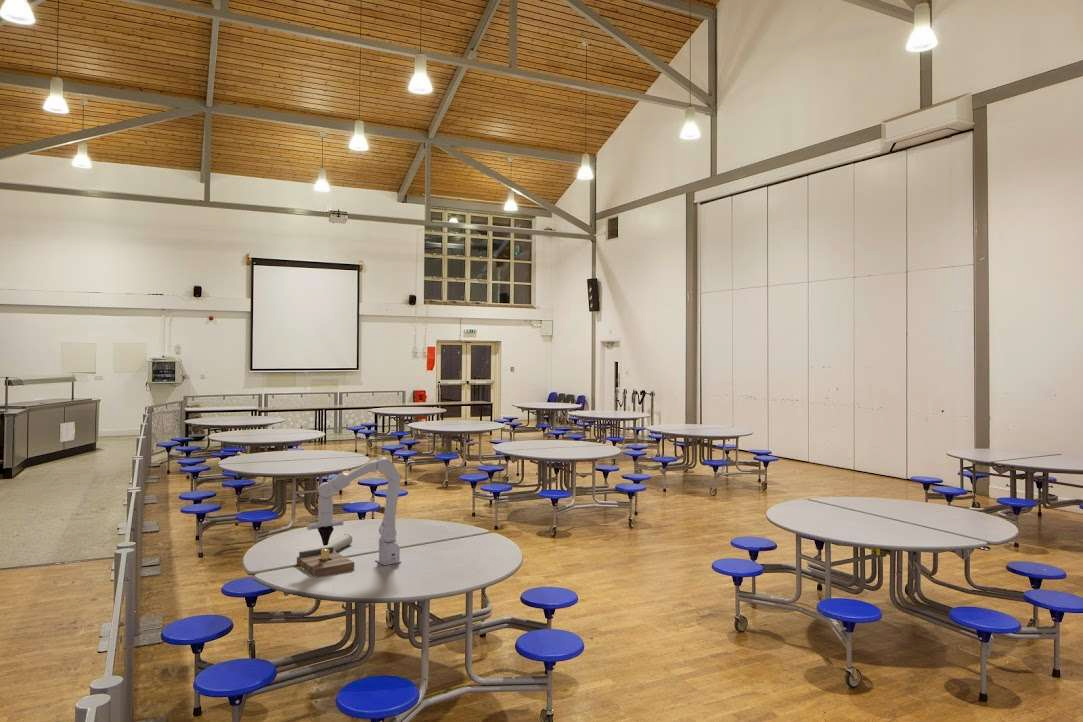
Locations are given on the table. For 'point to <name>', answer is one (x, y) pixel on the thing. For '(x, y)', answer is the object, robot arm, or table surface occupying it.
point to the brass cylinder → (324, 555)
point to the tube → (339, 542)
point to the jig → (317, 568)
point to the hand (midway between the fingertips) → (325, 544)
